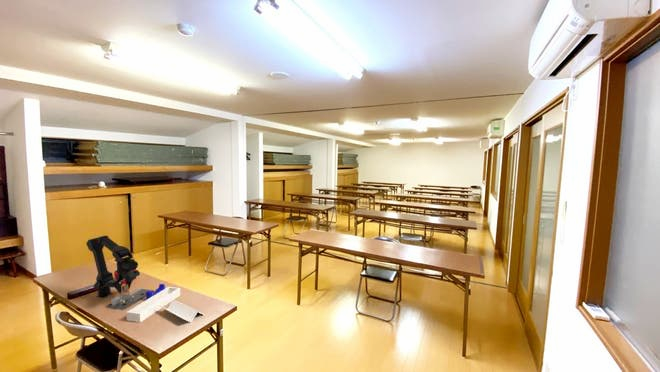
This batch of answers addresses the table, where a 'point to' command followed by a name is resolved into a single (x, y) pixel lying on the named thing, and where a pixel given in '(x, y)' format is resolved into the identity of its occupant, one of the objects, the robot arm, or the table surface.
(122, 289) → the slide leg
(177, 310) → the z bracket
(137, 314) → the block frame
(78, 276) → the table surface
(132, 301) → the plate
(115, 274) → the ceramic cup
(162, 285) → the cable clip
